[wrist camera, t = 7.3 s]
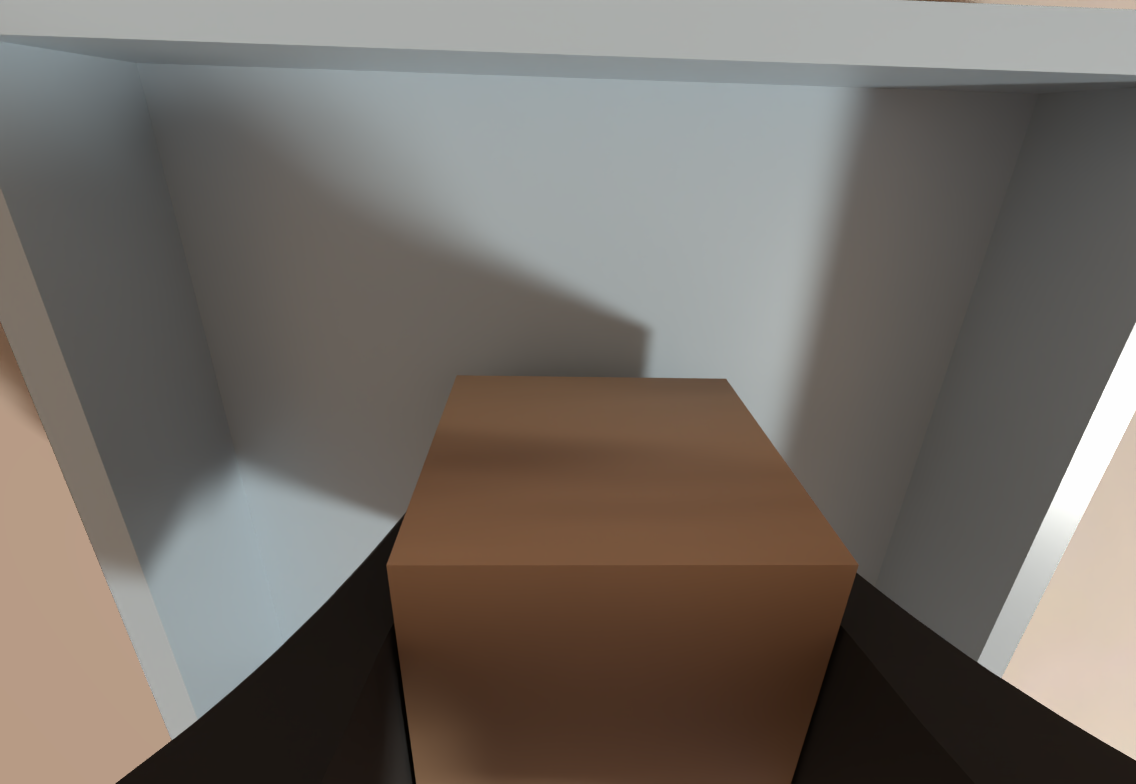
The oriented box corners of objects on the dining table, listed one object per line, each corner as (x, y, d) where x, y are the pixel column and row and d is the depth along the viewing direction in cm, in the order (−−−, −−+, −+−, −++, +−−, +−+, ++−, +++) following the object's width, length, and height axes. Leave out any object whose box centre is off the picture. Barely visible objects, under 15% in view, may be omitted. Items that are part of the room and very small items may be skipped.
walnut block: (693, 583, 12) (774, 835, 8) (469, 583, 12) (424, 843, 7) (726, 378, 10) (858, 564, 6) (456, 375, 10) (386, 565, 5)
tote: (841, 681, 16) (922, 834, 13) (290, 687, 15) (216, 849, 12) (1049, 57, 10) (1330, 17, 6) (119, 23, 9) (-148, -43, 6)
